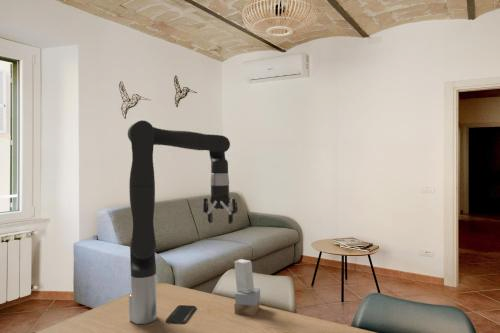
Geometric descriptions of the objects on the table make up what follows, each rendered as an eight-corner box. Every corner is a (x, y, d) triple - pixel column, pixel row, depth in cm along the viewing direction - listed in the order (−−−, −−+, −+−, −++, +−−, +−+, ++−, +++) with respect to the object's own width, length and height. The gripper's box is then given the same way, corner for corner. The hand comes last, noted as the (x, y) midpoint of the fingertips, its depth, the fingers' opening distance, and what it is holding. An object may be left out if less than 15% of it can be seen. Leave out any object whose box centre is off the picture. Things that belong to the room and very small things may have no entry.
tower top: (235, 304, 143) (235, 294, 143) (241, 296, 151) (241, 287, 151) (255, 305, 141) (255, 295, 141) (260, 298, 148) (259, 288, 148)
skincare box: (254, 290, 145) (252, 260, 145) (246, 294, 142) (244, 263, 142) (243, 287, 149) (241, 258, 149) (235, 291, 146) (233, 260, 146)
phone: (196, 305, 149) (184, 321, 134) (196, 308, 149) (184, 324, 134) (178, 305, 150) (164, 320, 136) (178, 307, 151) (164, 323, 136)
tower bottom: (234, 314, 143) (234, 304, 143) (240, 306, 151) (240, 296, 151) (254, 316, 141) (254, 306, 141) (259, 308, 148) (259, 298, 148)
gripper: (200, 184, 149) (201, 224, 149) (233, 184, 145) (234, 225, 146) (207, 183, 156) (208, 221, 157) (239, 183, 153) (239, 222, 153)
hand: (220, 223), depth 151 cm, fingers open, 8 cm apart
